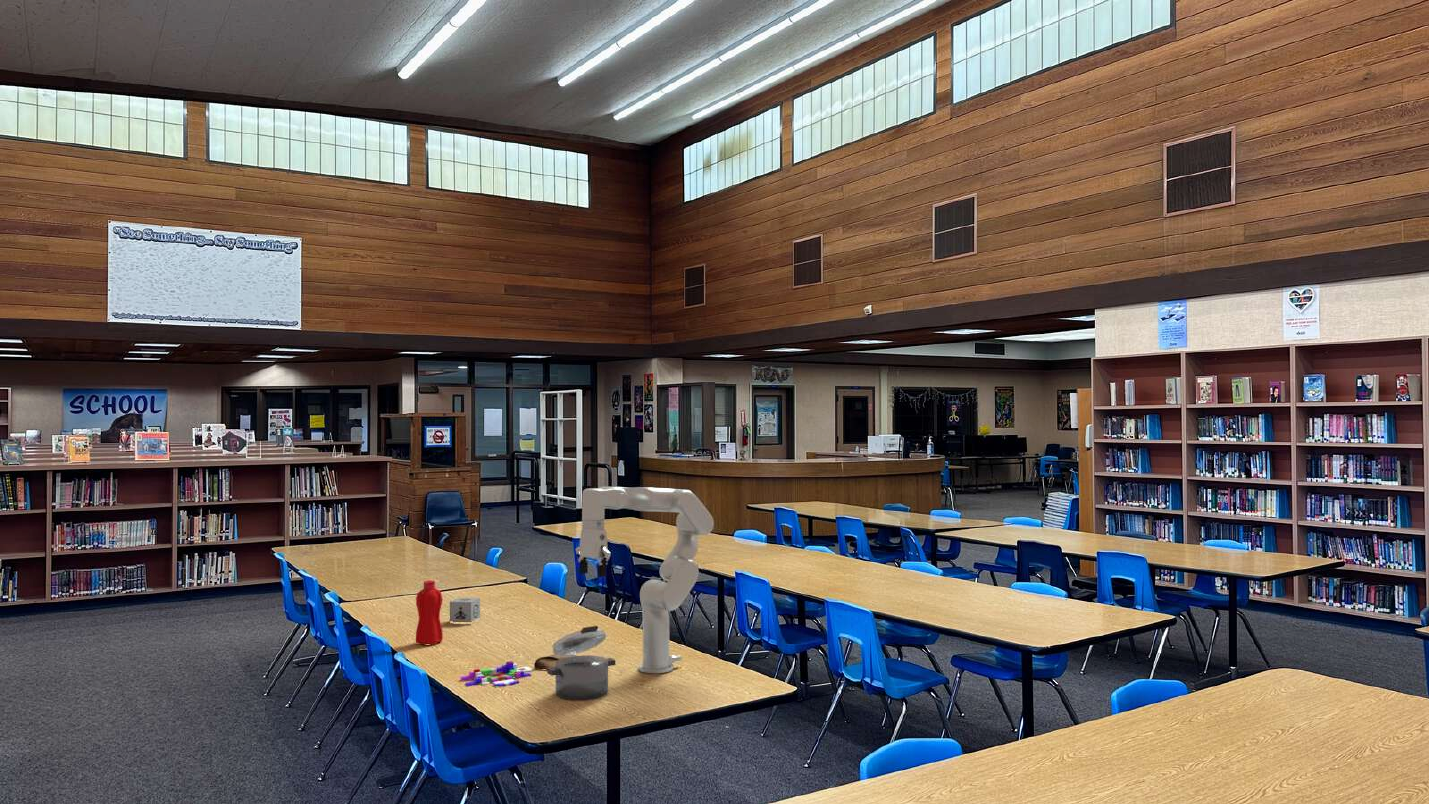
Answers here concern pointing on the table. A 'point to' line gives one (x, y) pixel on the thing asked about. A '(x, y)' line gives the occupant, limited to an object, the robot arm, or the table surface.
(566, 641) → the lid
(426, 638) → the water bottle
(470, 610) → the icon cube
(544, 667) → the sunglasses case
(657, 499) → the robot arm
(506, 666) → the building block set
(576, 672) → the pot
